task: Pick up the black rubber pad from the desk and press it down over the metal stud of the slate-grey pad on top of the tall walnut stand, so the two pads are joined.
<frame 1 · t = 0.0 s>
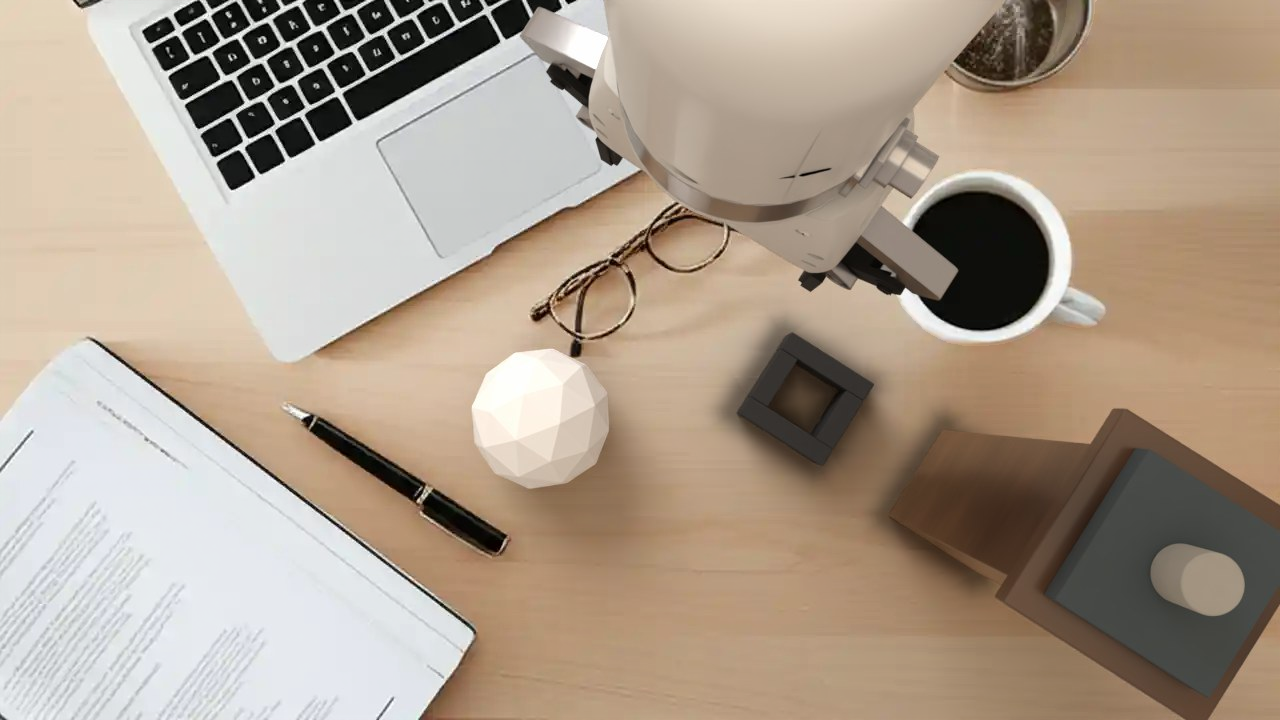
hand: (725, 194, 48), 21 cm above the table, tool pointing down, fingers open, 9 cm apart
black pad: (800, 399, 68), on the table
stand: (958, 500, 68), on the table
grey pad: (1164, 568, 40), resting on stand
geometric ball: (548, 417, 68), on the table
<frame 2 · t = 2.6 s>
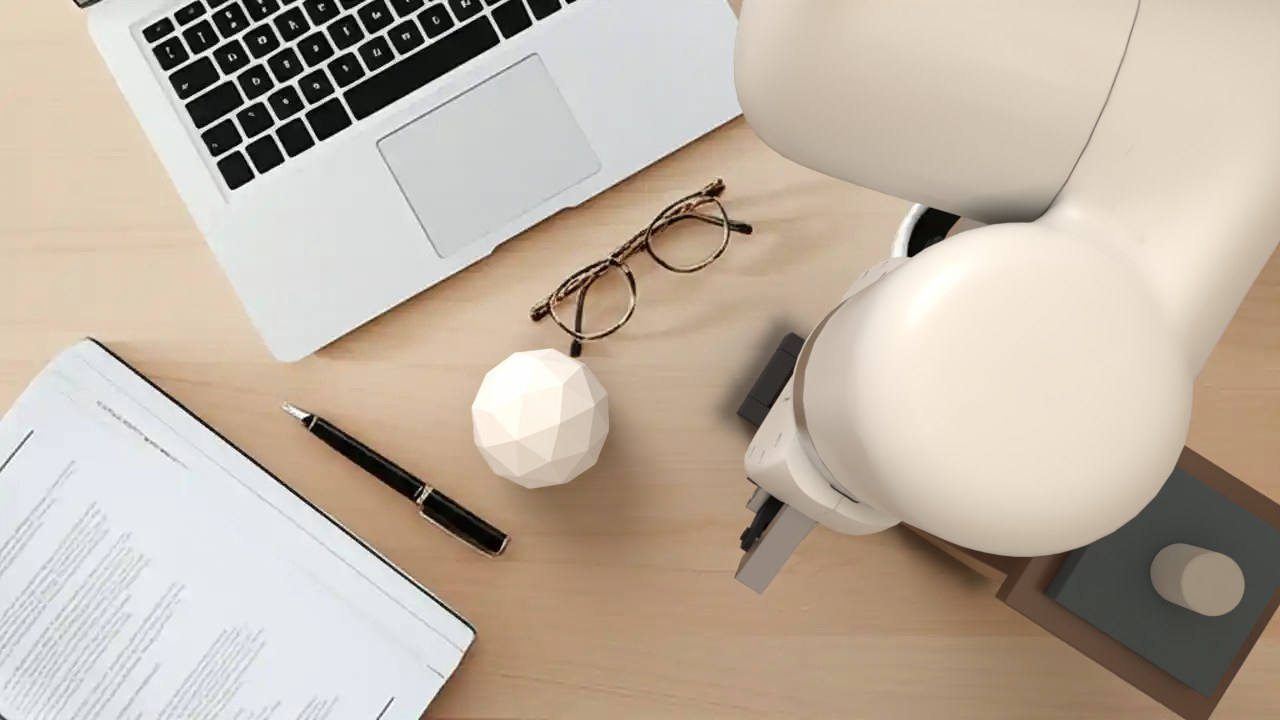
hand: (834, 403, 53), 15 cm above the table, tool pointing down, fingers open, 9 cm apart
nothing on the table moved.
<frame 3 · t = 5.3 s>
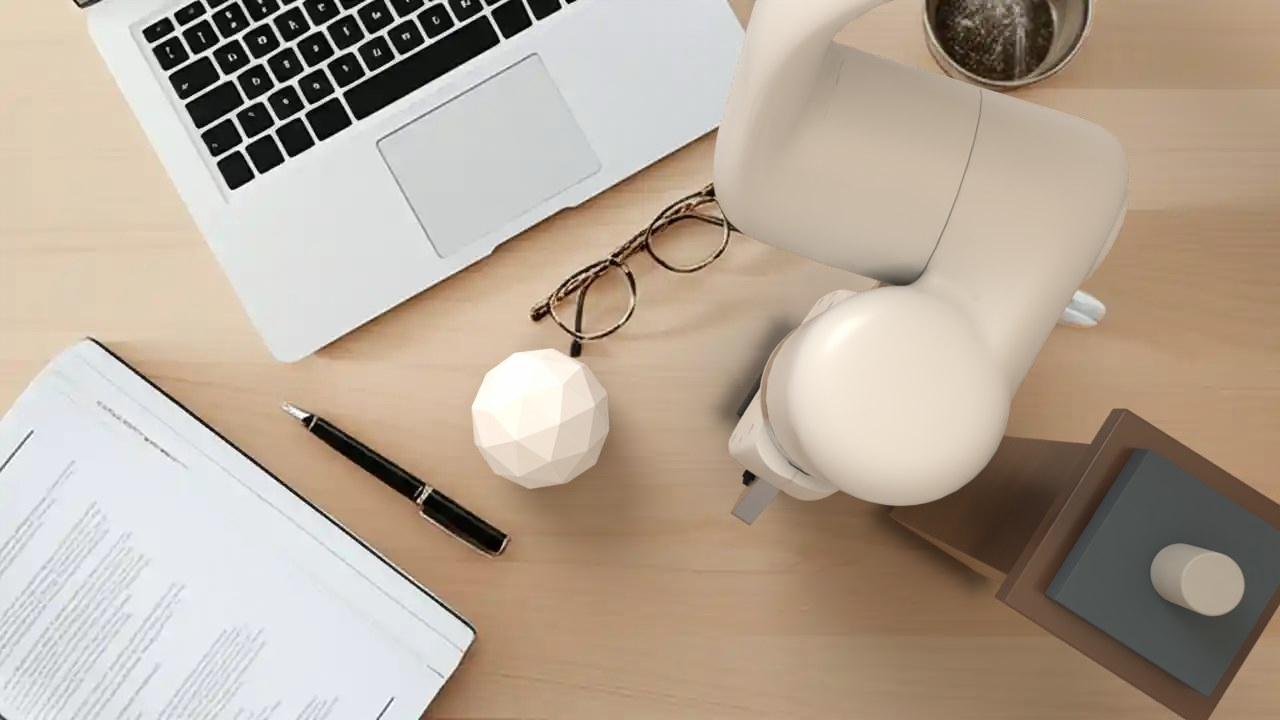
hand: (801, 399, 67), 1 cm above the table, tool pointing down, fingers closed on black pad, 5 cm apart
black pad: (800, 399, 68), on the table, touching gripper
everything else where it was.
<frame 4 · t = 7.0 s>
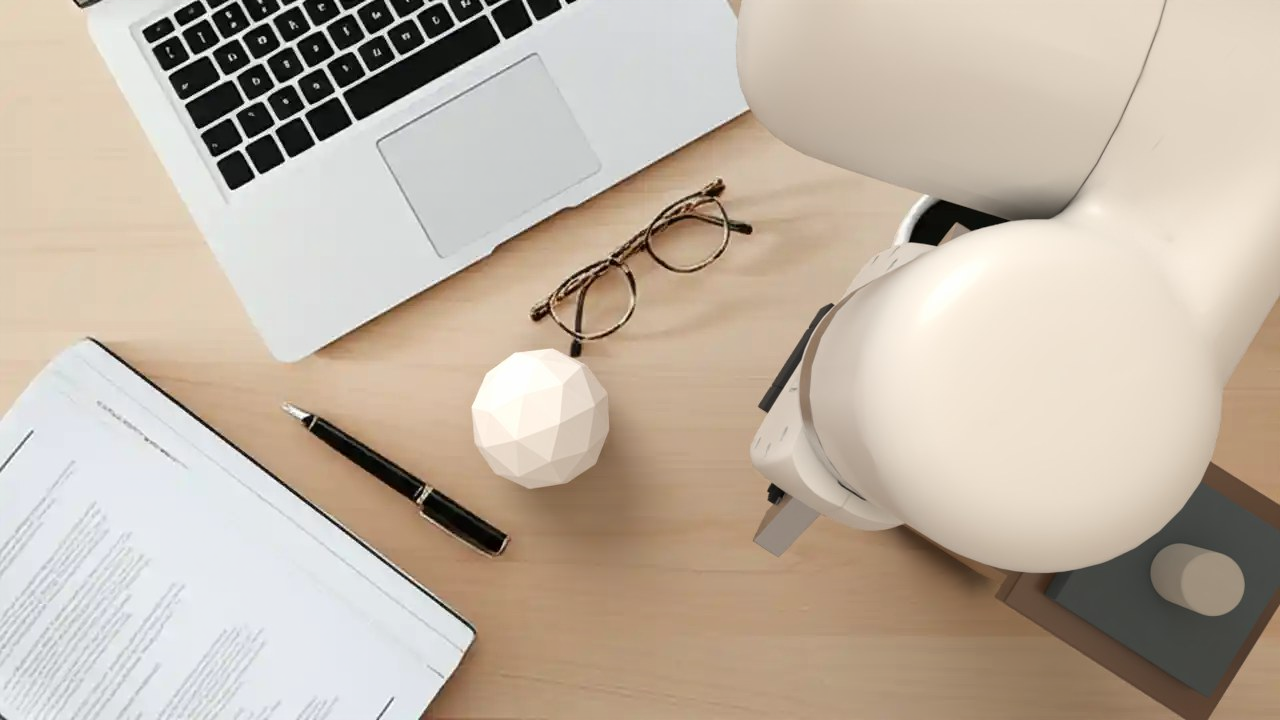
hand: (840, 388, 53), 15 cm above the table, tool pointing down, fingers closed on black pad, 5 cm apart
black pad: (839, 388, 53), point 15 cm above the table, touching gripper
everything else where it was.
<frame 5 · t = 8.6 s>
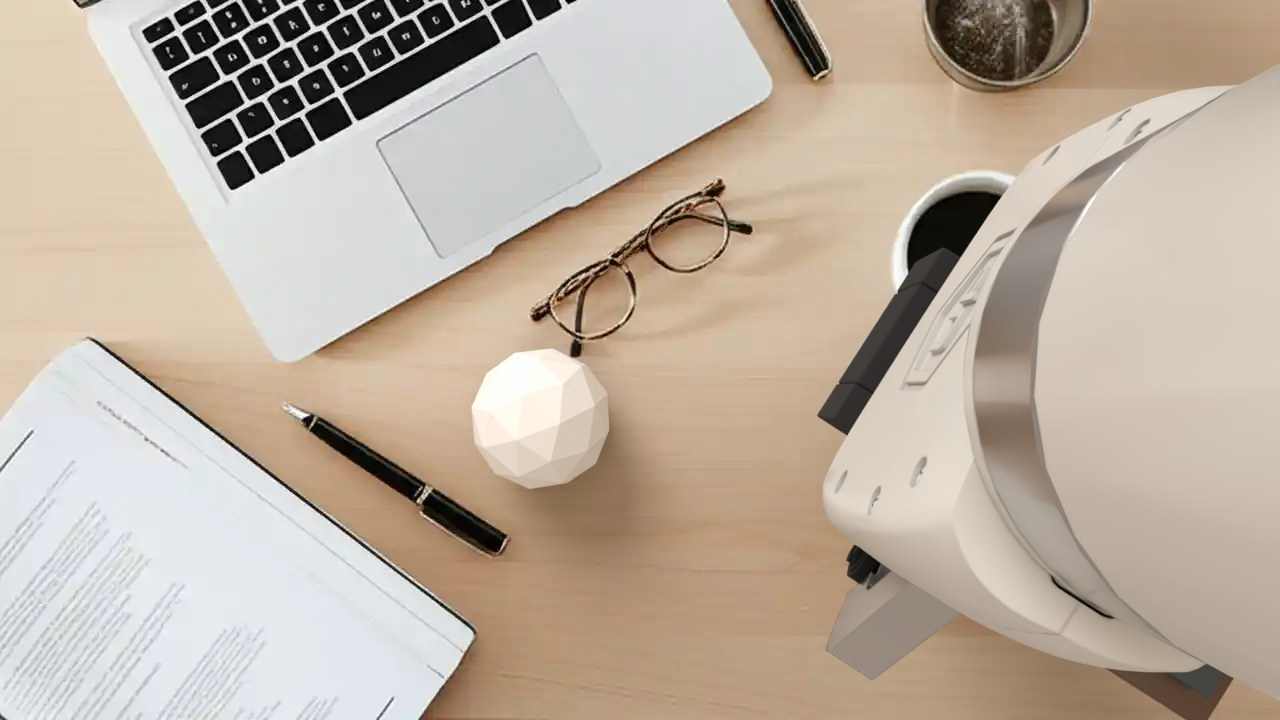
hand: (949, 388, 33), 35 cm above the table, tool pointing down, fingers closed on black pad, 5 cm apart
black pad: (944, 388, 34), point 34 cm above the table, touching gripper
everything else where it was.
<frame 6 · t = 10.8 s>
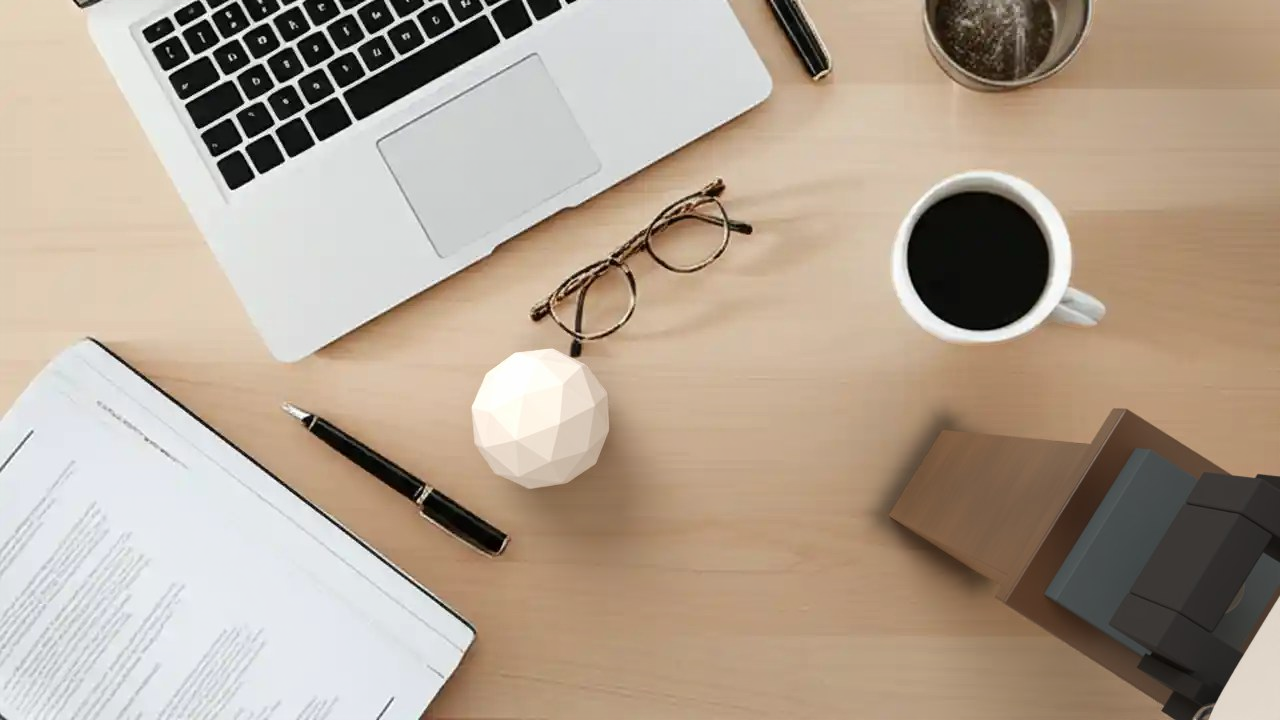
hand: (1241, 599, 34), 33 cm above the table, tool pointing down, fingers closed on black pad, 5 cm apart
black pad: (1233, 596, 35), point 33 cm above the table, touching gripper
everything else where it was.
when the fingers open (30 cm above the table, at t = 12.3 s): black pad stays where it is, resting on grey pad.
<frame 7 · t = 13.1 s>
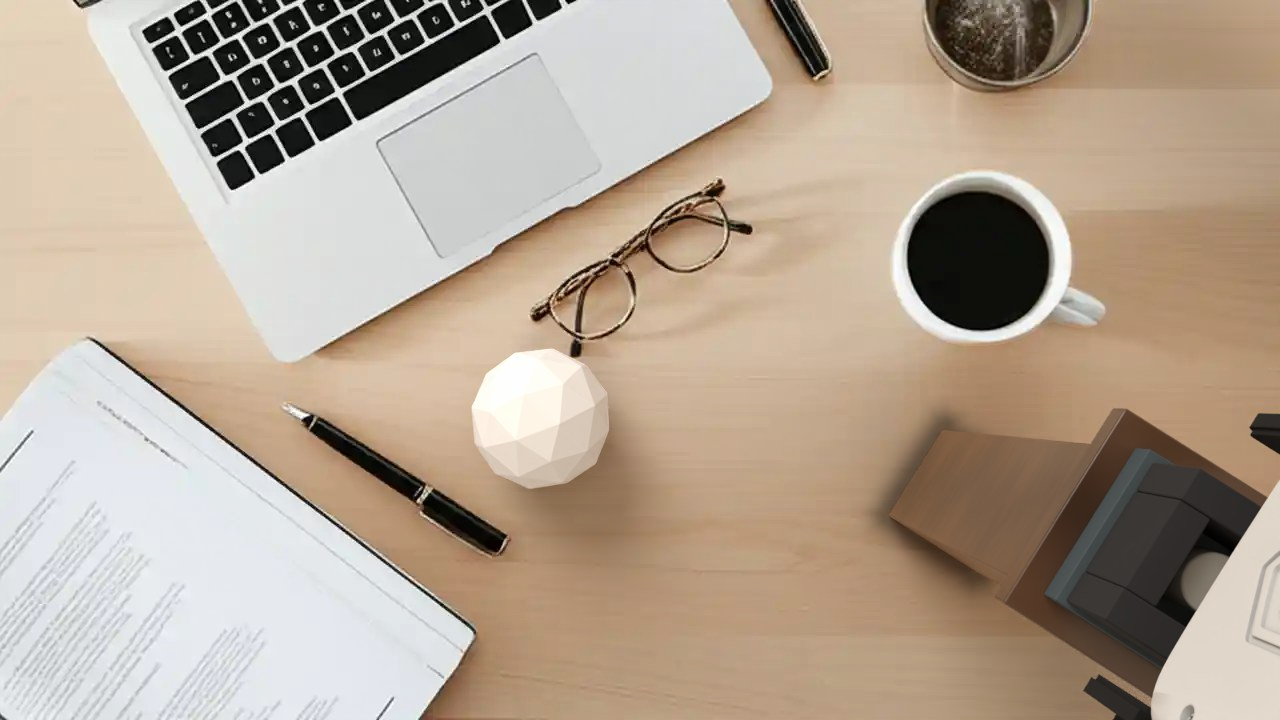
hand: (1210, 577, 36), 31 cm above the table, tool pointing down, fingers open, 9 cm apart
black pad: (1179, 575, 38), point 29 cm above the table, touching grey pad
everything else where it was.
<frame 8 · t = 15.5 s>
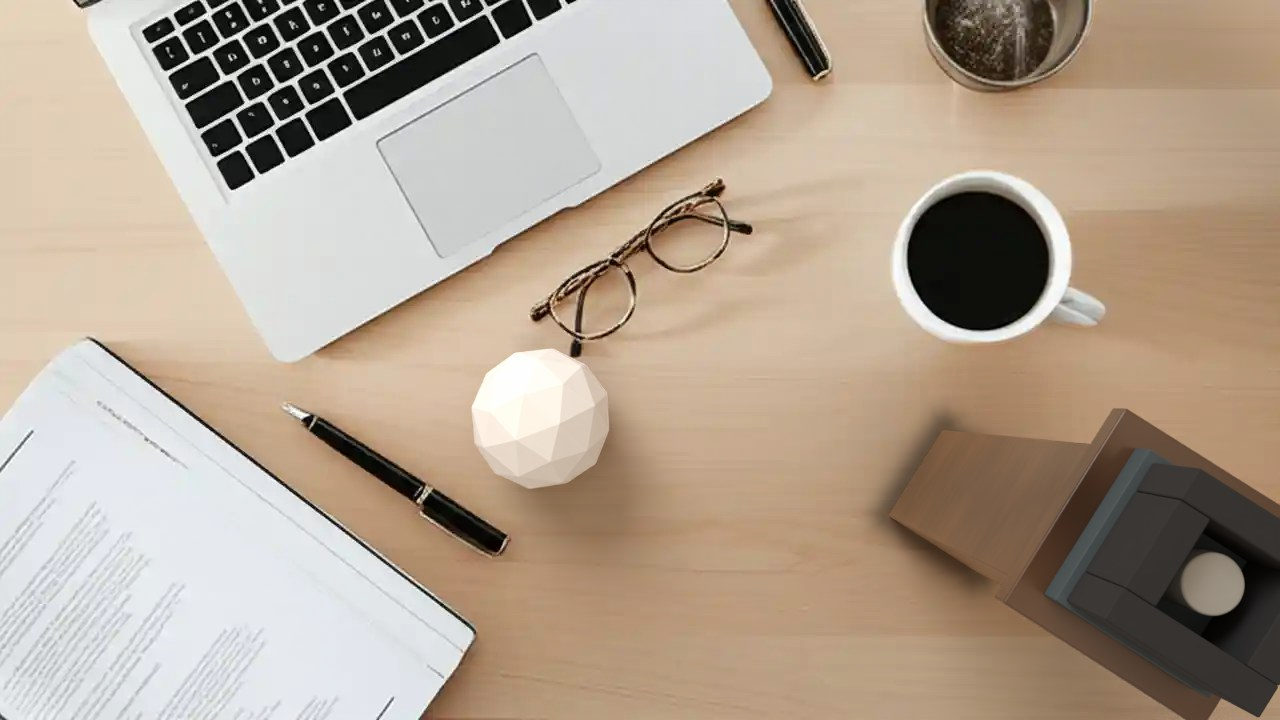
nothing on the table moved.
at the end: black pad 0.1 cm off-centre on the grey pad, point 1.2 cm above the grey pad's base; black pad tilted 0° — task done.
